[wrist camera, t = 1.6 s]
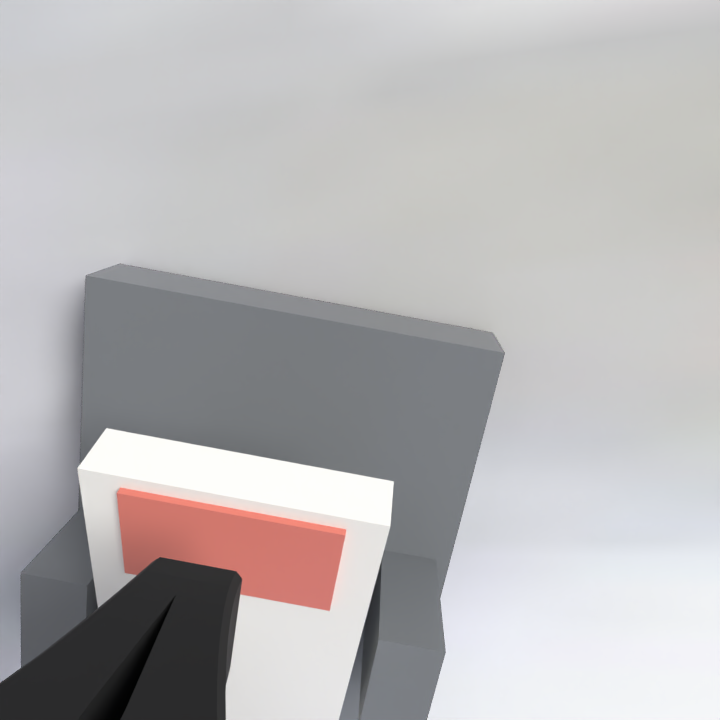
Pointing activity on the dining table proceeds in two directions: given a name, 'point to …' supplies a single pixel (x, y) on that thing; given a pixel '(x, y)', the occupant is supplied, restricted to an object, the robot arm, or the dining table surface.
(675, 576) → the dining table surface
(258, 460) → the block
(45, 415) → the dining table surface
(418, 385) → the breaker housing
